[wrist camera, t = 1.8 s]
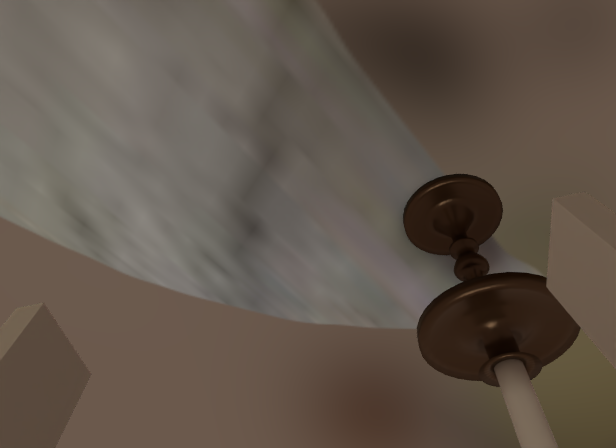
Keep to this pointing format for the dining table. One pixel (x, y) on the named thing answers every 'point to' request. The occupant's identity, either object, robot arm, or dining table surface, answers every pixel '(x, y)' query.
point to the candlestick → (486, 304)
